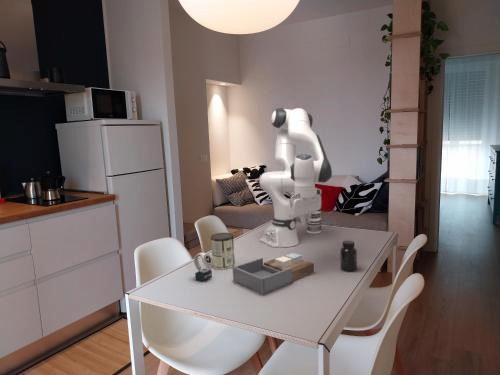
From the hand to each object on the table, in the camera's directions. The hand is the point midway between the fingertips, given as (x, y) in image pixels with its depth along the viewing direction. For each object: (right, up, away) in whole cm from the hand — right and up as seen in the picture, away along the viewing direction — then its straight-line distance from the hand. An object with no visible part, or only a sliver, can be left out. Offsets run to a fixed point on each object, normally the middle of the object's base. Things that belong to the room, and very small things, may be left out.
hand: (305, 223), depth 161 cm
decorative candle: (+14, -11, +57) cm, 60 cm away
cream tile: (-10, -17, -7) cm, 21 cm away
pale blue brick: (-6, -16, -3) cm, 17 cm away
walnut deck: (-8, -20, -4) cm, 22 cm away
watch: (-43, -23, -8) cm, 50 cm away
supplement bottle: (+18, -19, -4) cm, 27 cm away
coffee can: (-36, -20, +7) cm, 42 cm away
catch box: (-19, -22, -14) cm, 32 cm away
